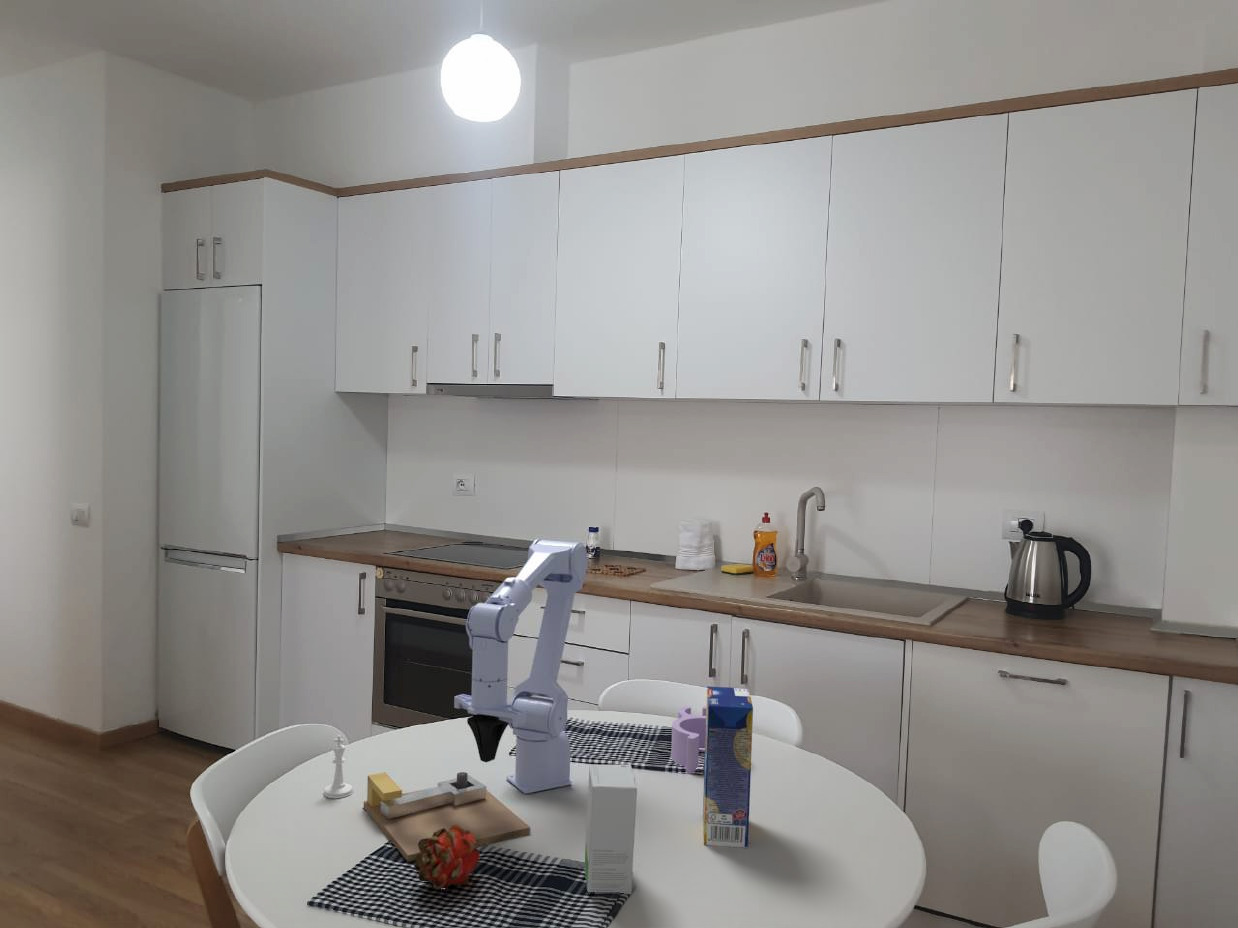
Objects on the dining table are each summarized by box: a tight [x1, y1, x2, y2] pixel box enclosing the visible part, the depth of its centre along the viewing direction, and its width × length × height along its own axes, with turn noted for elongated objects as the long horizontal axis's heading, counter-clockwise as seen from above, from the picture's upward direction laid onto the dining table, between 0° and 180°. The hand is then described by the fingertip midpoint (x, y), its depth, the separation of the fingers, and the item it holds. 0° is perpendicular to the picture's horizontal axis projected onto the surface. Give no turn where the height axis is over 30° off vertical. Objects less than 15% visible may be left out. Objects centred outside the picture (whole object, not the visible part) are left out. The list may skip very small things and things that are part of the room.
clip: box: [670, 705, 707, 775], centre depth 184 cm, size 20×12×7 cm, turn 2°
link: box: [381, 774, 487, 819], centre depth 153 cm, size 17×6×2 cm, turn 129°
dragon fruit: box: [413, 825, 481, 890], centre depth 130 cm, size 8×8×12 cm
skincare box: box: [584, 764, 638, 895], centre depth 131 cm, size 8×7×16 cm
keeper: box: [366, 772, 403, 807], centre depth 151 cm, size 3×8×4 cm, turn 32°
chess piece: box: [323, 734, 354, 799], centre depth 160 cm, size 5×5×10 cm
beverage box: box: [702, 685, 754, 849], centre depth 149 cm, size 7×11×22 cm, turn 176°
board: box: [363, 771, 531, 863], centre depth 150 cm, size 20×22×5 cm
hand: (487, 759), depth 150 cm, fingers closed
